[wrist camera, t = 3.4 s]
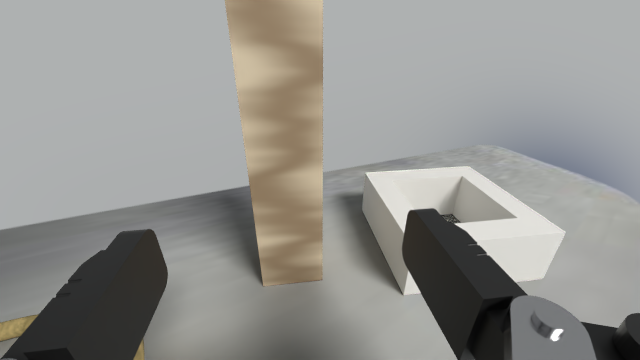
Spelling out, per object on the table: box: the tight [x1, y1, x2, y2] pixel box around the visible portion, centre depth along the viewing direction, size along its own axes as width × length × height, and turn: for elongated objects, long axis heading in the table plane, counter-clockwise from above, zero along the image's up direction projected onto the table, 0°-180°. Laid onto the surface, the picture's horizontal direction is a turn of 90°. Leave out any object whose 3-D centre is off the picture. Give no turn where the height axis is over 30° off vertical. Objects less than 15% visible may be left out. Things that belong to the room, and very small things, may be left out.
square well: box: [362, 166, 566, 295], centre depth 22 cm, size 10×10×4 cm
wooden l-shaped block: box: [225, 0, 323, 286], centre depth 18 cm, size 4×7×18 cm, turn 8°
